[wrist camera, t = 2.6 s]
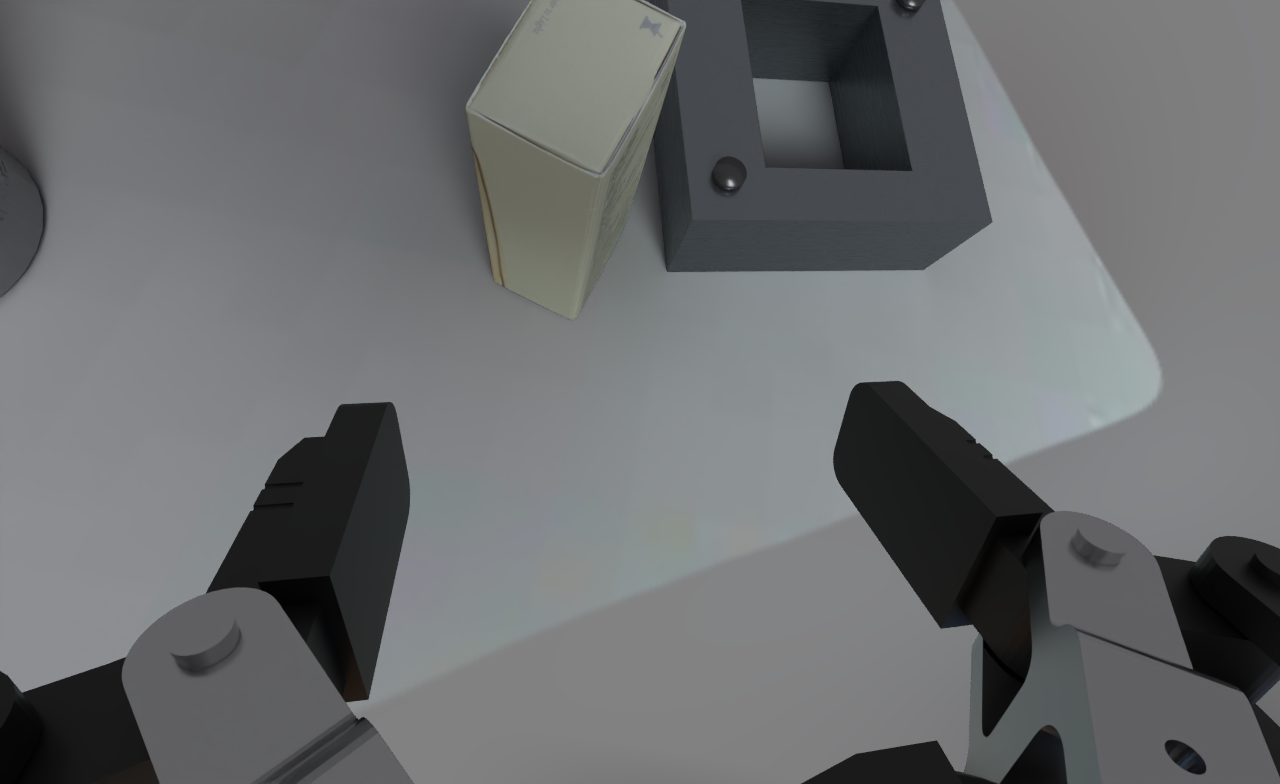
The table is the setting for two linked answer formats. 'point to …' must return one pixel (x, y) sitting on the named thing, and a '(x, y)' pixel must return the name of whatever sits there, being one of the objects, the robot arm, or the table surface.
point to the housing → (868, 131)
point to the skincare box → (567, 139)
